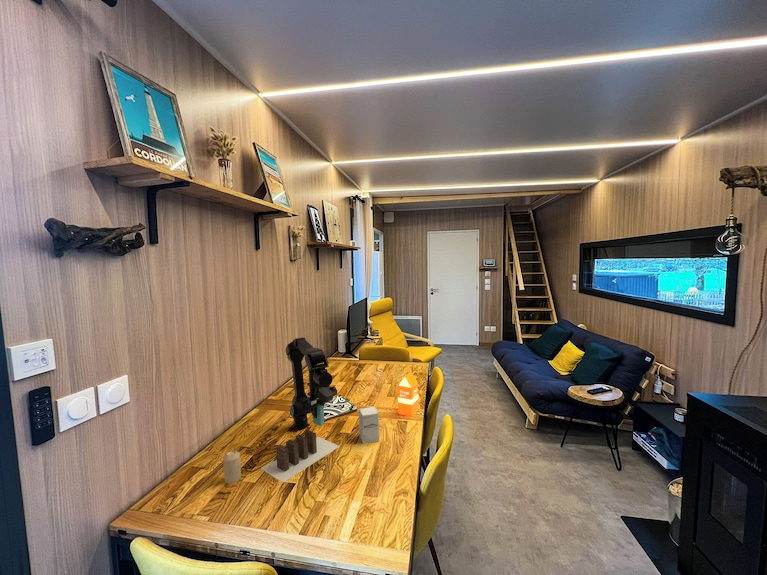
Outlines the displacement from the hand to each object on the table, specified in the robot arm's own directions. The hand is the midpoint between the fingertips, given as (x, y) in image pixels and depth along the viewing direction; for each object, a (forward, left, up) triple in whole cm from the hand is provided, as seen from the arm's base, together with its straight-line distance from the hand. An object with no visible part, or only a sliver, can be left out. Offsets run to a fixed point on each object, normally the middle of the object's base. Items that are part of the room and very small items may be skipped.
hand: (317, 417), depth 135 cm
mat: (0, -9, -13) cm, 16 cm away
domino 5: (0, 0, -3) cm, 3 cm away
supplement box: (+13, +17, -13) cm, 25 cm away
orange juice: (+13, +49, -13) cm, 53 cm away
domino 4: (0, -4, -13) cm, 13 cm away
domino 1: (0, -18, -13) cm, 22 cm away
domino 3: (0, -9, -13) cm, 15 cm away
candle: (-10, -32, -13) cm, 36 cm away
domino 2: (0, -13, -13) cm, 18 cm away
